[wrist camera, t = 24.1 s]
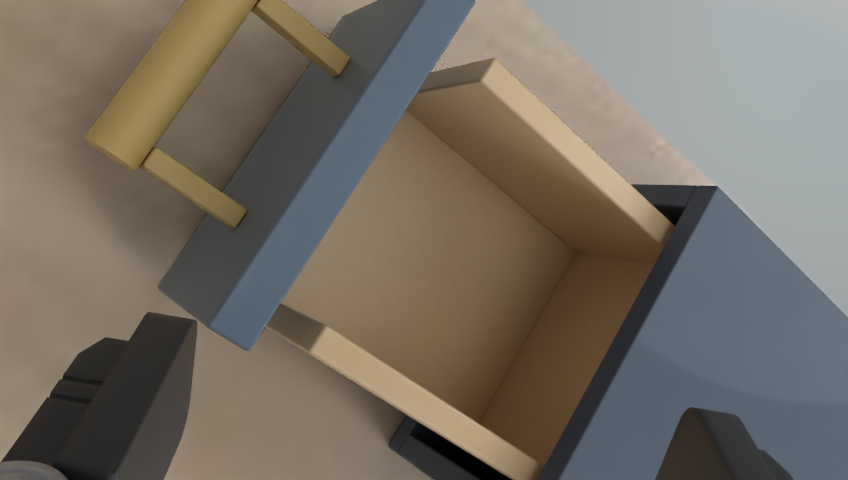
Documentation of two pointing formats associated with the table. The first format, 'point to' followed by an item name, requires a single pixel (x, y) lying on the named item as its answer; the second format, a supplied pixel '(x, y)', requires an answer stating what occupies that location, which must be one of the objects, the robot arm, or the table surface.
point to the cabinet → (698, 359)
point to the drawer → (402, 222)
